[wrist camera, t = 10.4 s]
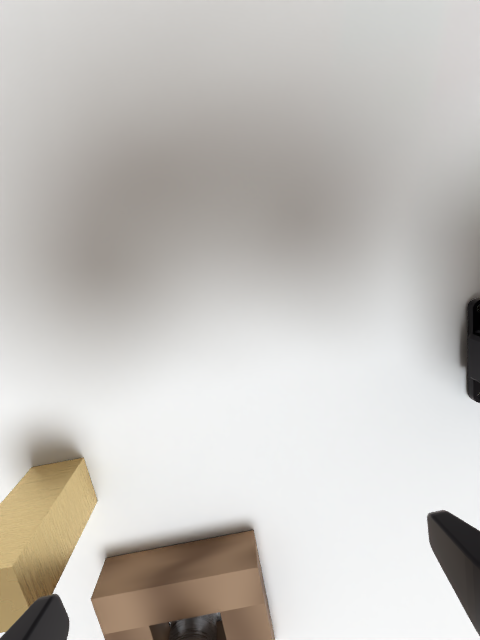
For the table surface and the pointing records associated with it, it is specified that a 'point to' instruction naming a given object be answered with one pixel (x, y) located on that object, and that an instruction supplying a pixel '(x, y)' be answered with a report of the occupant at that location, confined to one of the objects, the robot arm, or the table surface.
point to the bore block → (185, 590)
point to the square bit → (40, 533)
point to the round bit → (194, 628)
